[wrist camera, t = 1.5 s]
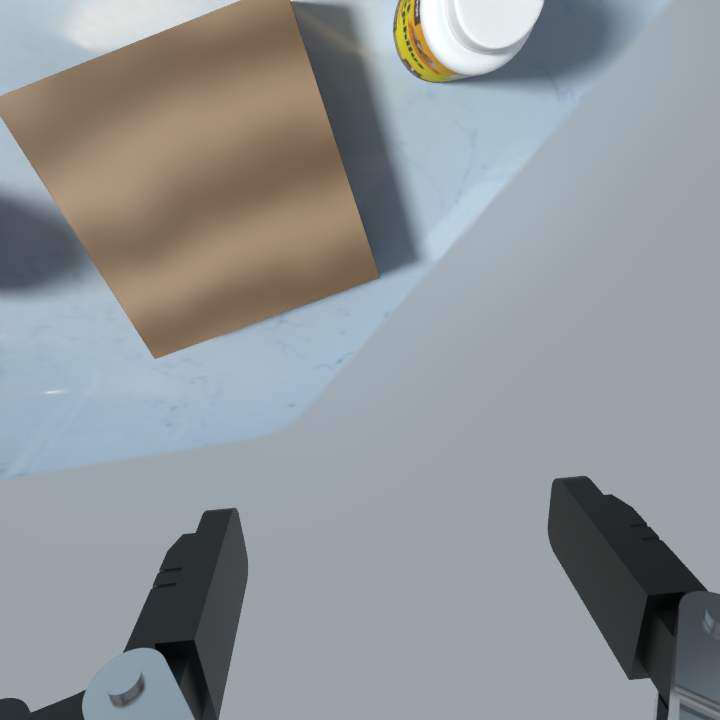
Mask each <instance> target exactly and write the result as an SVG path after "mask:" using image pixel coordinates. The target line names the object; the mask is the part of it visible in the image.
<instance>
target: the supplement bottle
mask: <svg viewBox="0 0 720 720" xmlns="http://www.w3.org/2000/svg"><path fill="white" fill-rule="evenodd" d="M543 5H544V0H399V2H398V4H397V7H396V11H395V15H394V21H393V37H394V43H395V47H396V50H397V53H398V56H399V58H400V60H401V61H402V63H403V64H404V66H405V67H406V68H407V69H408V70H409V71H410V72H411V73H412V74H413V75H414V76H416V77H417V78H419V79H421V80H424V81H427V82H434V83H439V82H446V81H451V80H456V79H462V78H467V77H472V76H478V75H482V74H486V73H489V72H492V71H494V70H496V69H498V68H500V67H502V66H503V65H505V64H506V63H507V62H508V61H510V60H511V59H512V58H513V57H514V56H515V55H516V54H517V53H518V52H519V50H520V49H521V48H522V46H523V45H524V43H525V42H526V40H527V39H528V37H529V35H530V33H531V31H532V29H533V26H534V24H535V22H536V21H537V19H538V17H539V15H540V13H541V10H542V7H543Z"/></svg>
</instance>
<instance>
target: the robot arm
mask: <svg viewBox="0 0 720 720" xmlns="http://www.w3.org/2000/svg"><path fill="white" fill-rule="evenodd" d="M548 535H549V540H550V544H551V547H552V549H553V552H554V553H555V555H556V557H557V558H558V560H559V562H560V564H561V565H562V567H563V568H564V570H565V572H566V574H567V575H568V577H569V579H570V581H571V582H572V584H573V586H574V587H575V589H576V591H577V592H578V594H579V596H580V598H581V599H582V601H583V603H584V604H585V606H586V607H587V609H588V611H589V613H590V614H591V616H592V618H593V620H594V621H595V623H596V625H597V626H598V628H599V630H600V631H601V633H602V635H603V636H604V638H605V640H606V641H607V643H608V645H609V647H610V648H611V650H612V652H613V653H614V655H615V657H616V658H617V660H618V662H619V663H620V665H621V667H622V669H623V670H624V672H625V674H626V675H627V677H628V679H629V680H633V679H643V678H651V680H652V682H653V683H654V685H655V686H656V688H657V694H656V699H655V708H654V719H653V720H720V594H717V593H713V592H709V591H708V590H707V589H706V588H705V587H704V586H703V585H702V584H701V583H700V582H699V580H697V578H696V577H695V576H694V575H693V574H692V573H691V572H690V571H689V570H688V568H687V567H686V566H685V565H684V564H683V563H682V562H681V561H680V559H679V558H678V557H677V556H676V555H675V554H674V553H673V552H672V551H671V550H670V549H669V547H668V546H667V545H666V544H665V543H664V542H663V541H662V540H659V536H658V535H657V534H656V533H655V532H654V531H653V530H652V529H651V527H648V526H647V523H646V522H645V521H644V520H643V519H642V518H641V516H640V515H639V514H638V513H637V512H636V511H635V510H634V509H633V508H632V507H631V506H629V505H628V504H626V503H625V502H623V501H621V500H620V499H618V498H616V497H615V496H613V495H612V494H610V495H603V494H602V492H601V491H600V490H599V489H598V488H597V487H596V485H595V484H594V483H593V482H592V481H591V480H590V479H589V478H588V477H587V476H578V477H568V478H558V479H557V478H556V479H555V480H554V481H553V483H552V489H551V499H550V510H549V519H548ZM247 576H248V558H247V552H246V547H245V542H244V537H243V533H242V528H241V523H240V518H239V513H238V511H237V509H236V508H228V509H218V510H207V511H205V512H204V513H203V515H202V518H201V521H200V523H199V526H198V528H197V531H196V533H191V534H183V535H182V536H181V537H180V538H179V539H178V540H177V541H176V543H175V544H174V545H173V546H172V547H171V548H170V549H169V550H168V551H167V554H166V556H165V558H164V560H163V563H162V565H161V567H160V572H159V573H158V574H157V576H156V579H155V581H154V584H153V589H151V590H150V593H149V595H148V597H147V600H146V602H145V604H144V606H143V609H142V611H141V613H140V616H139V618H138V620H137V623H136V625H135V627H134V629H133V632H132V634H131V637H130V639H129V641H128V643H127V646H126V648H125V650H124V652H123V653H122V654H121V655H119V656H117V657H115V658H114V659H112V660H111V661H109V662H108V663H107V664H106V665H105V666H103V667H102V669H100V670H99V672H98V673H97V674H96V675H95V676H94V678H93V679H92V680H91V682H90V684H89V685H88V687H87V689H86V690H84V691H82V692H81V693H78V694H76V695H74V696H71V697H69V698H67V699H64V700H61V701H59V702H56V703H54V704H52V705H49V706H47V707H44V708H42V709H39V710H37V711H34V712H32V713H31V712H30V710H29V708H28V707H27V705H26V704H25V703H24V702H23V701H21V700H19V699H15V698H5V699H0V720H218V719H219V714H220V710H221V705H222V700H223V695H224V690H225V685H226V681H227V676H228V671H229V666H230V661H231V656H232V652H233V647H234V642H235V636H236V632H237V627H238V623H239V618H240V613H241V608H242V603H243V598H244V594H245V589H246V583H247Z"/></svg>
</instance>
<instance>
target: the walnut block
mask: <svg viewBox="0 0 720 720" xmlns="http://www.w3.org/2000/svg"><path fill="white" fill-rule="evenodd" d="M0 116H1V118H2V119H3V121H4V122H5V124H6V126H7V127H8V129H9V130H10V132H11V133H12V135H13V137H14V138H15V140H16V141H17V143H18V144H19V146H20V148H21V149H22V151H23V152H24V154H25V156H26V157H27V159H28V160H29V162H30V163H31V165H32V167H33V168H34V170H35V171H36V173H37V174H38V176H39V178H40V179H41V181H42V182H43V184H44V185H45V187H46V189H47V190H48V192H49V193H50V195H51V196H52V198H53V200H54V201H55V203H56V204H57V206H58V207H59V209H60V211H61V212H62V214H63V215H64V217H65V218H66V220H67V222H68V223H69V225H70V226H71V228H72V229H73V231H74V233H75V234H76V236H77V237H78V239H79V240H80V242H81V244H82V245H83V247H84V248H85V250H86V251H87V253H88V255H89V256H90V258H91V259H92V261H93V262H94V264H95V266H96V267H97V269H98V270H99V272H100V273H101V275H102V277H103V278H104V280H105V281H106V283H107V284H108V286H109V288H110V289H111V291H112V292H113V294H114V296H115V297H116V299H117V300H118V302H119V303H120V305H121V307H122V308H123V310H124V311H125V313H126V314H127V316H128V318H129V319H130V321H131V322H132V324H133V325H134V327H135V329H136V330H137V332H138V333H139V335H140V336H141V338H142V340H143V341H144V343H145V344H146V346H147V347H148V349H149V351H150V352H151V354H152V355H153V357H154V358H155V359H157V358H159V357H162V356H165V355H168V354H170V353H173V352H176V351H179V350H181V349H184V348H187V347H190V346H192V345H195V344H198V343H201V342H204V341H206V340H209V339H212V338H215V337H217V336H220V335H223V334H226V333H228V332H231V331H234V330H237V329H239V328H242V327H245V326H248V325H250V324H253V323H256V322H259V321H261V320H264V319H267V318H270V317H272V316H275V315H278V314H281V313H283V312H286V311H289V310H292V309H295V308H297V307H300V306H303V305H306V304H308V303H311V302H314V301H317V300H319V299H322V298H325V297H328V296H330V295H333V294H336V293H339V292H341V291H344V290H347V289H350V288H352V287H355V286H358V285H361V284H363V283H366V282H369V281H372V280H375V279H377V278H380V276H379V273H378V270H377V267H376V264H375V261H374V258H373V255H372V252H371V249H370V246H369V243H368V239H367V236H366V233H365V230H364V227H363V224H362V221H361V218H360V215H359V212H358V209H357V206H356V203H355V200H354V196H353V193H352V190H351V187H350V184H349V181H348V178H347V175H346V172H345V169H344V166H343V163H342V160H341V156H340V153H339V150H338V147H337V144H336V141H335V138H334V135H333V132H332V129H331V126H330V123H329V120H328V116H327V113H326V110H325V107H324V104H323V101H322V98H321V95H320V92H319V89H318V86H317V83H316V80H315V77H314V73H313V70H312V67H311V64H310V61H309V58H308V55H307V52H306V49H305V46H304V43H303V40H302V37H301V33H300V30H299V27H298V24H297V21H296V18H295V15H294V12H293V9H292V6H291V3H290V0H241V1H238V2H236V3H233V4H231V5H228V6H226V7H223V8H220V9H218V10H215V11H213V12H210V13H208V14H205V15H203V16H200V17H198V18H195V19H193V20H190V21H188V22H185V23H183V24H180V25H178V26H175V27H173V28H170V29H168V30H165V31H163V32H160V33H158V34H155V35H153V36H150V37H148V38H145V39H143V40H140V41H137V42H135V43H132V44H130V45H127V46H125V47H122V48H120V49H117V50H115V51H112V52H110V53H107V54H105V55H102V56H100V57H97V58H95V59H92V60H90V61H87V62H85V63H82V64H80V65H77V66H75V67H72V68H70V69H67V70H65V71H62V72H60V73H57V74H54V75H52V76H49V77H47V78H44V79H42V80H39V81H37V82H34V83H32V84H29V85H27V86H24V87H22V88H19V89H17V90H14V91H12V92H9V93H7V94H4V95H2V96H0Z"/></svg>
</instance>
